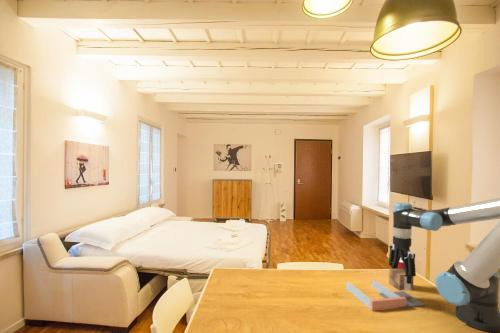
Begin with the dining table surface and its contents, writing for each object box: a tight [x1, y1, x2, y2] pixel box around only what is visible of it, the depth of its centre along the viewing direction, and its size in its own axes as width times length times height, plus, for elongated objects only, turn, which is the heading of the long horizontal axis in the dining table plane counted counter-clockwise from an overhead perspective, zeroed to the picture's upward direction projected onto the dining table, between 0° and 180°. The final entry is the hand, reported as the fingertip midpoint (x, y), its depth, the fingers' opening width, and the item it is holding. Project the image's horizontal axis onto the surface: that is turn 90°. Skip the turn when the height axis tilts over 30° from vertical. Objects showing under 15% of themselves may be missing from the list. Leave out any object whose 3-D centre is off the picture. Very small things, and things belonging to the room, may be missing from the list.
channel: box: [345, 280, 406, 312], centre depth 130 cm, size 22×16×4 cm
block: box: [388, 268, 414, 292], centre depth 128 cm, size 7×7×7 cm
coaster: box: [379, 290, 425, 309], centre depth 128 cm, size 13×13×1 cm
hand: (401, 286), depth 128 cm, fingers closed on block, 7 cm apart
